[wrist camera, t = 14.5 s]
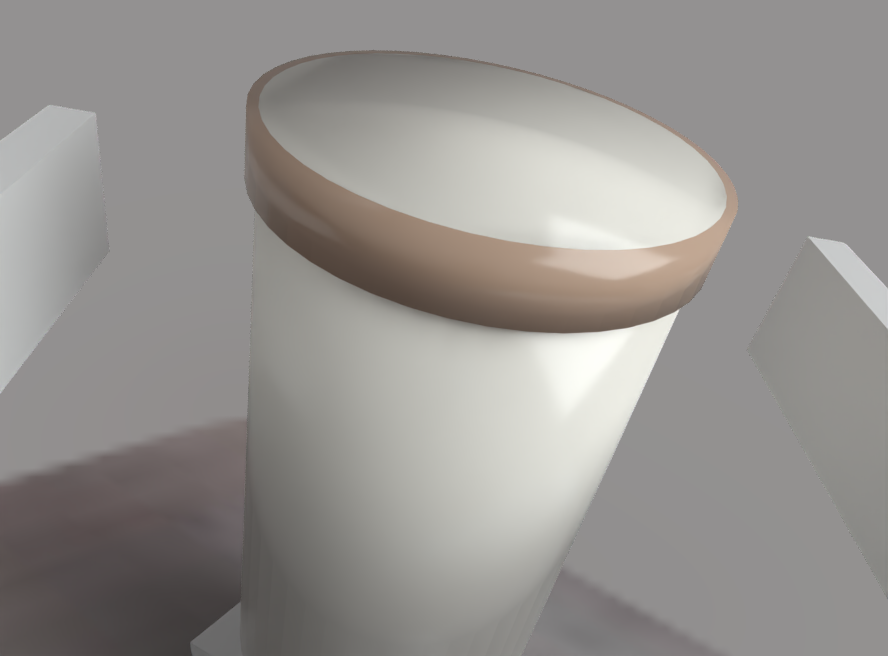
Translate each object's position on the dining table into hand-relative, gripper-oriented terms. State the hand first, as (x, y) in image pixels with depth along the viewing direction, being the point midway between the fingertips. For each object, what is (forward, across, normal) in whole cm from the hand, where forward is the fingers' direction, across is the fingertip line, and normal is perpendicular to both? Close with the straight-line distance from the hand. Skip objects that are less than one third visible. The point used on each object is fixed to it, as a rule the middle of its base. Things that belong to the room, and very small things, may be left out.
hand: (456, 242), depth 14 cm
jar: (-2, 0, -9) cm, 9 cm away
